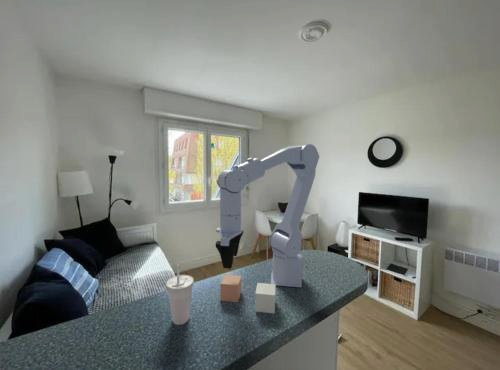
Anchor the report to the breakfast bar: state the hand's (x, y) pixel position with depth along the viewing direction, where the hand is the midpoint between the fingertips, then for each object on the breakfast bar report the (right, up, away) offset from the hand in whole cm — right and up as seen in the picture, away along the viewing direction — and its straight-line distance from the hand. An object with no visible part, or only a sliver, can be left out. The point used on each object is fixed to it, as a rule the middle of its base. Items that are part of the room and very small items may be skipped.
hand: (230, 261), depth 62 cm
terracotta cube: (0, -10, +1) cm, 11 cm away
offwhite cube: (+10, -11, -3) cm, 15 cm away
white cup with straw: (-11, -11, -8) cm, 18 cm away
